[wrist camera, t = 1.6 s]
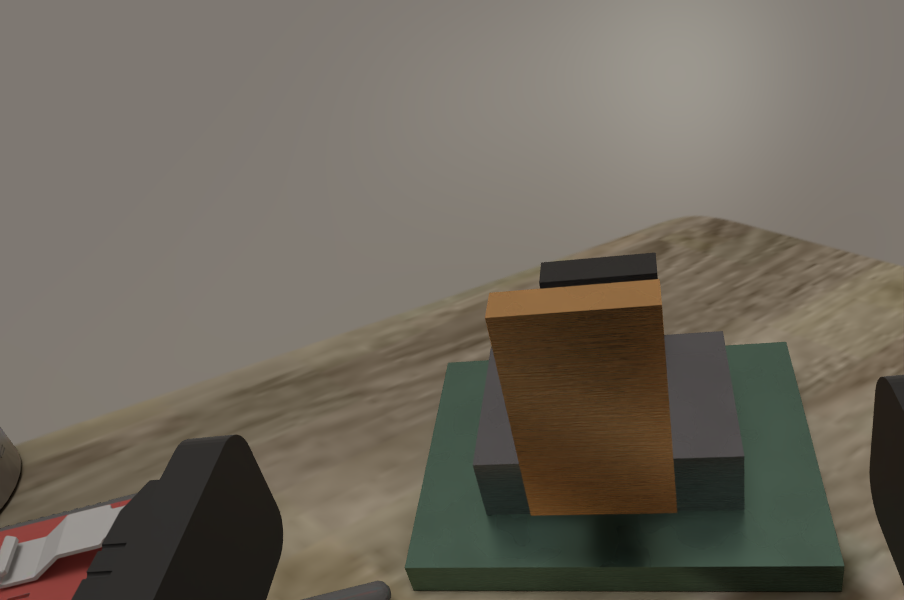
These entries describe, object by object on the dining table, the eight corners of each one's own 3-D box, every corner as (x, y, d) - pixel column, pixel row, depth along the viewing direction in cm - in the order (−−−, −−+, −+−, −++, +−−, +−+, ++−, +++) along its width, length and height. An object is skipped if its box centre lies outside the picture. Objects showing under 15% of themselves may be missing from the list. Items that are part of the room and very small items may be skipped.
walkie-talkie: (-94, 757, 33) (400, 635, 33) (-165, 699, 31) (371, 566, 30) (-22, 572, 40) (385, 470, 40) (-74, 512, 38) (360, 404, 38)
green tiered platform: (413, 590, 34) (367, 472, 30) (454, 384, 43) (423, 273, 39) (841, 591, 30) (856, 456, 26) (785, 366, 40) (789, 240, 36)
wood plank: (530, 515, 30) (485, 317, 25) (543, 360, 36) (509, 177, 31) (677, 513, 29) (661, 304, 23) (663, 353, 35) (649, 161, 30)
